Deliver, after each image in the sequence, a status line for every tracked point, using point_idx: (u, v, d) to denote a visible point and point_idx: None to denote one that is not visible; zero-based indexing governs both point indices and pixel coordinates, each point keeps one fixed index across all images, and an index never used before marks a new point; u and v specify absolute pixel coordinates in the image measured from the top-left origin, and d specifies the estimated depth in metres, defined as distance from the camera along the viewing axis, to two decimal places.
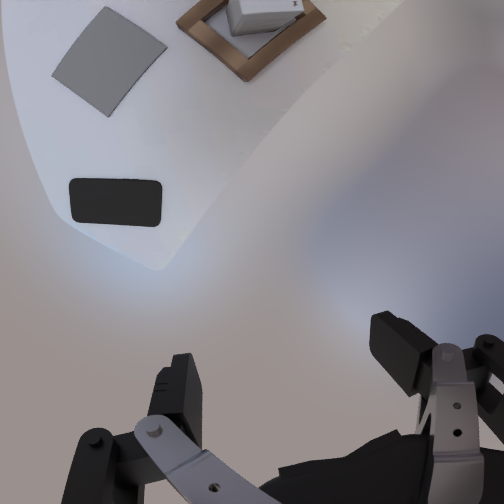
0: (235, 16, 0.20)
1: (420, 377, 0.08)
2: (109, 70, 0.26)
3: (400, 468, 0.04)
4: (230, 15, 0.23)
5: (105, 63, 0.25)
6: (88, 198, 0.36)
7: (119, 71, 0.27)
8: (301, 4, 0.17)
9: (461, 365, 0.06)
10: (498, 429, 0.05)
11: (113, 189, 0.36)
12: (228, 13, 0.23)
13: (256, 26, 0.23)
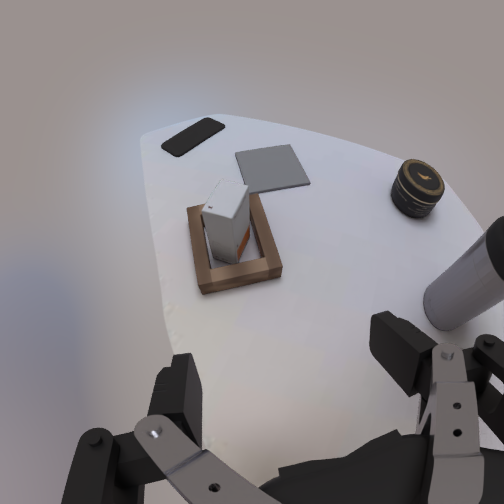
0: None
1: (420, 377, 0.08)
2: (261, 164, 0.53)
3: (400, 468, 0.04)
4: None
5: (267, 165, 0.53)
6: (207, 127, 0.61)
7: (255, 168, 0.53)
8: (207, 210, 0.33)
9: (461, 365, 0.06)
10: (498, 430, 0.05)
11: (198, 137, 0.59)
12: None
13: None
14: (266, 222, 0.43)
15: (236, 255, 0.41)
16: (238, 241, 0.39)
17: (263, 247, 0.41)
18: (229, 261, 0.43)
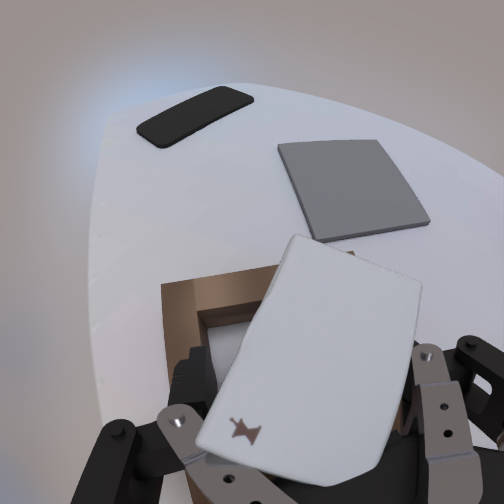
0: None
1: None
2: (334, 173, 0.25)
3: (400, 468, 0.04)
4: None
5: (346, 175, 0.25)
6: (223, 99, 0.33)
7: (323, 179, 0.24)
8: (228, 451, 0.05)
9: (440, 366, 0.07)
10: (487, 429, 0.05)
11: (205, 115, 0.31)
12: None
13: None
14: None
15: None
16: None
17: None
18: None
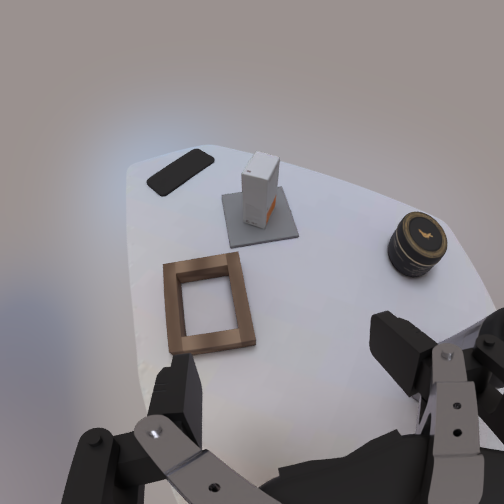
0: None
1: (420, 377, 0.08)
2: None
3: (400, 468, 0.04)
4: None
5: None
6: (196, 161, 0.59)
7: (240, 215, 0.51)
8: (246, 173, 0.39)
9: (461, 365, 0.06)
10: (498, 430, 0.05)
11: (185, 174, 0.57)
12: None
13: None
14: (243, 287, 0.40)
15: (265, 218, 0.47)
16: (268, 205, 0.45)
17: (237, 317, 0.38)
18: (258, 225, 0.48)
